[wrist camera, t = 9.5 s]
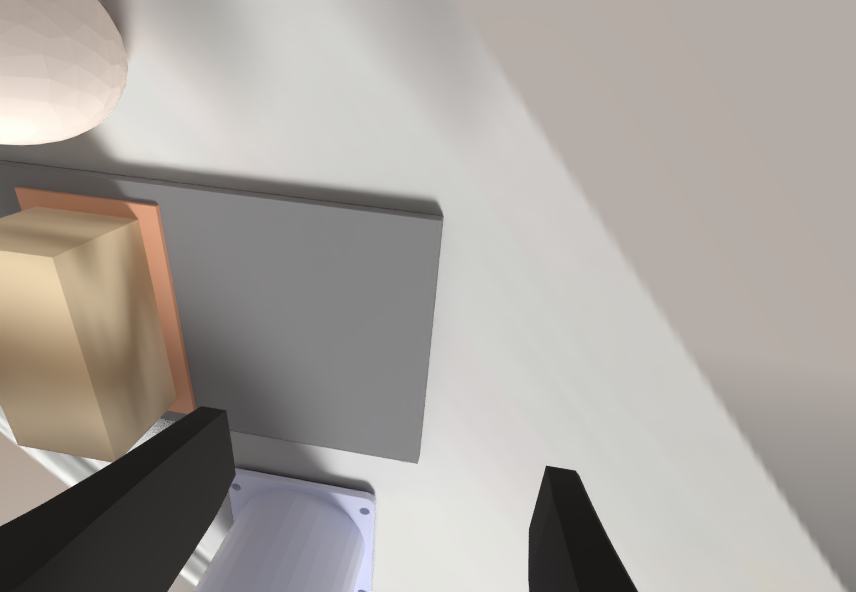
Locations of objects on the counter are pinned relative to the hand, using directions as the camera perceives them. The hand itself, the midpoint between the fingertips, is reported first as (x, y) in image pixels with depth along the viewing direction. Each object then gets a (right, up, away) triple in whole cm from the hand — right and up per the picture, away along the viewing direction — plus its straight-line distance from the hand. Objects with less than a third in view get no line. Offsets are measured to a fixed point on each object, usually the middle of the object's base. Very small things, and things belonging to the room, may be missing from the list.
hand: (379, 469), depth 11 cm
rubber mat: (-9, +3, +11) cm, 14 cm away
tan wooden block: (-13, +3, +10) cm, 17 cm away
